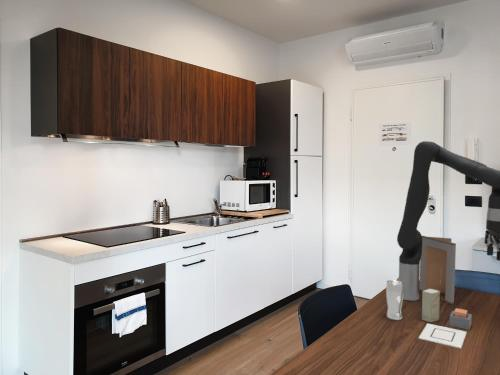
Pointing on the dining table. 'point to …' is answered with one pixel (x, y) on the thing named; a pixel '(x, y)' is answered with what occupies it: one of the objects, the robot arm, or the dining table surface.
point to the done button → (460, 313)
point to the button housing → (460, 321)
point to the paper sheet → (443, 335)
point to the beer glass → (394, 299)
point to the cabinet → (438, 266)
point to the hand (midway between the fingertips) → (494, 257)
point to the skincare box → (430, 305)
